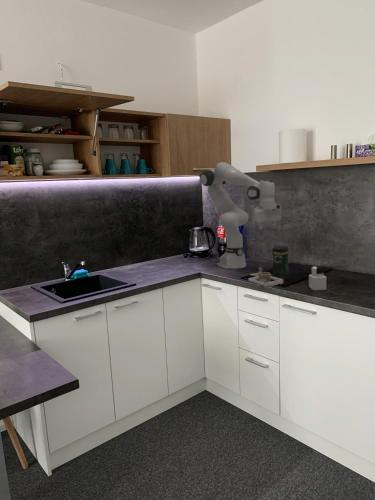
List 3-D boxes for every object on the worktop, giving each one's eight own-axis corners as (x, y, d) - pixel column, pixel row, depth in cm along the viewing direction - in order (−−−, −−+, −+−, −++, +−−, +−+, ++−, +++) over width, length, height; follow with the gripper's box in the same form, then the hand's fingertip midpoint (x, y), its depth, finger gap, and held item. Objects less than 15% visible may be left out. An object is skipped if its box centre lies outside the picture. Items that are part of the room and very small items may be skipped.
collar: (264, 284, 220) (264, 275, 220) (256, 281, 228) (256, 272, 227) (274, 282, 223) (274, 274, 222) (266, 279, 230) (266, 271, 229)
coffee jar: (290, 274, 242) (290, 245, 239) (284, 277, 237) (284, 247, 233) (276, 272, 249) (276, 244, 246) (270, 275, 243) (270, 246, 240)
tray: (248, 282, 228) (248, 278, 228) (266, 278, 235) (266, 274, 235) (264, 287, 216) (264, 283, 215) (283, 283, 222) (283, 279, 222)
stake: (249, 276, 243) (248, 267, 242) (261, 273, 248) (261, 264, 247) (259, 279, 235) (259, 270, 234) (272, 276, 239) (272, 267, 238)
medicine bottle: (321, 286, 213) (321, 265, 211) (326, 289, 206) (326, 267, 204) (308, 287, 213) (308, 265, 211) (313, 290, 206) (313, 268, 204)
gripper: (257, 207, 229) (256, 230, 231) (283, 205, 238) (282, 227, 241) (250, 207, 234) (250, 229, 237) (276, 205, 244) (275, 226, 246)
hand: (266, 228), depth 239 cm, fingers open, 8 cm apart
